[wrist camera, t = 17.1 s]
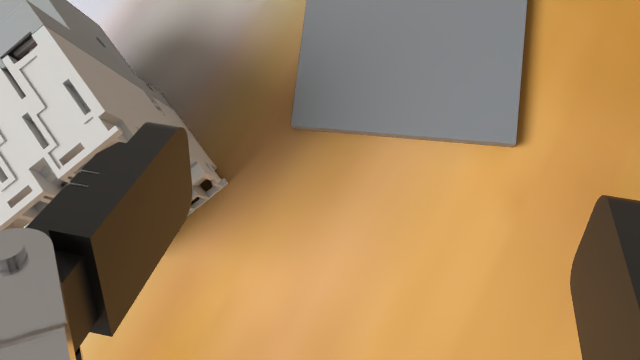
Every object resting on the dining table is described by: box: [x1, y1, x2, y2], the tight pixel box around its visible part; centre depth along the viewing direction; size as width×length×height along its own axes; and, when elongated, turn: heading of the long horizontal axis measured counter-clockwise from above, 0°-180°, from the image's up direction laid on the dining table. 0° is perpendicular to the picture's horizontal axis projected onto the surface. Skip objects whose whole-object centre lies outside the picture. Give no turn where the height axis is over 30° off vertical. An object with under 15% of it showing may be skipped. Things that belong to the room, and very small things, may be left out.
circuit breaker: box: [0, 0, 229, 231], centre depth 35 cm, size 8×14×15 cm, turn 38°
